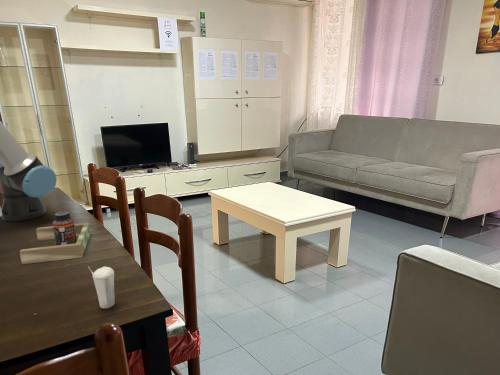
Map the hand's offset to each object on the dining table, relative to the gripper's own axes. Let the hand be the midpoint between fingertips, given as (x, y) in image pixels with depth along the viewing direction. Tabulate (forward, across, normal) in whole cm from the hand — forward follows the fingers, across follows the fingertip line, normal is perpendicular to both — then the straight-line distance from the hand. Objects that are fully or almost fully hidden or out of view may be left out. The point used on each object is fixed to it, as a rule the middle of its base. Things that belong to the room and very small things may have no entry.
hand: (0, 211), depth 108 cm
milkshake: (+31, +38, -14) cm, 51 cm away
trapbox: (+14, 0, -14) cm, 20 cm away
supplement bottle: (+16, 0, -14) cm, 21 cm away
